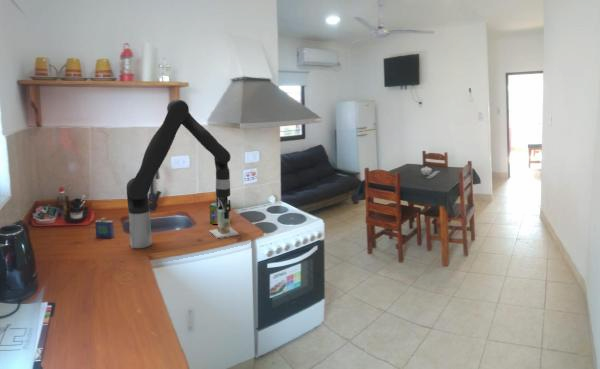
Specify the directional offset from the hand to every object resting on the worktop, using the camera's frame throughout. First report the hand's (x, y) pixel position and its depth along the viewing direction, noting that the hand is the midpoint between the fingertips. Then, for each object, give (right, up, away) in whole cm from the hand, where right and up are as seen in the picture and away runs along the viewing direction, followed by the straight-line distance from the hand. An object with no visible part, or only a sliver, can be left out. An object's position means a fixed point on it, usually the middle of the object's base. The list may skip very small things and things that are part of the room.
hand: (223, 216), depth 196 cm
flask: (-59, -10, -8) cm, 61 cm away
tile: (0, -10, +2) cm, 10 cm away
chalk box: (-7, -6, +21) cm, 23 cm away
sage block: (0, -3, +1) cm, 3 cm away
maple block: (0, -8, +2) cm, 9 cm away
